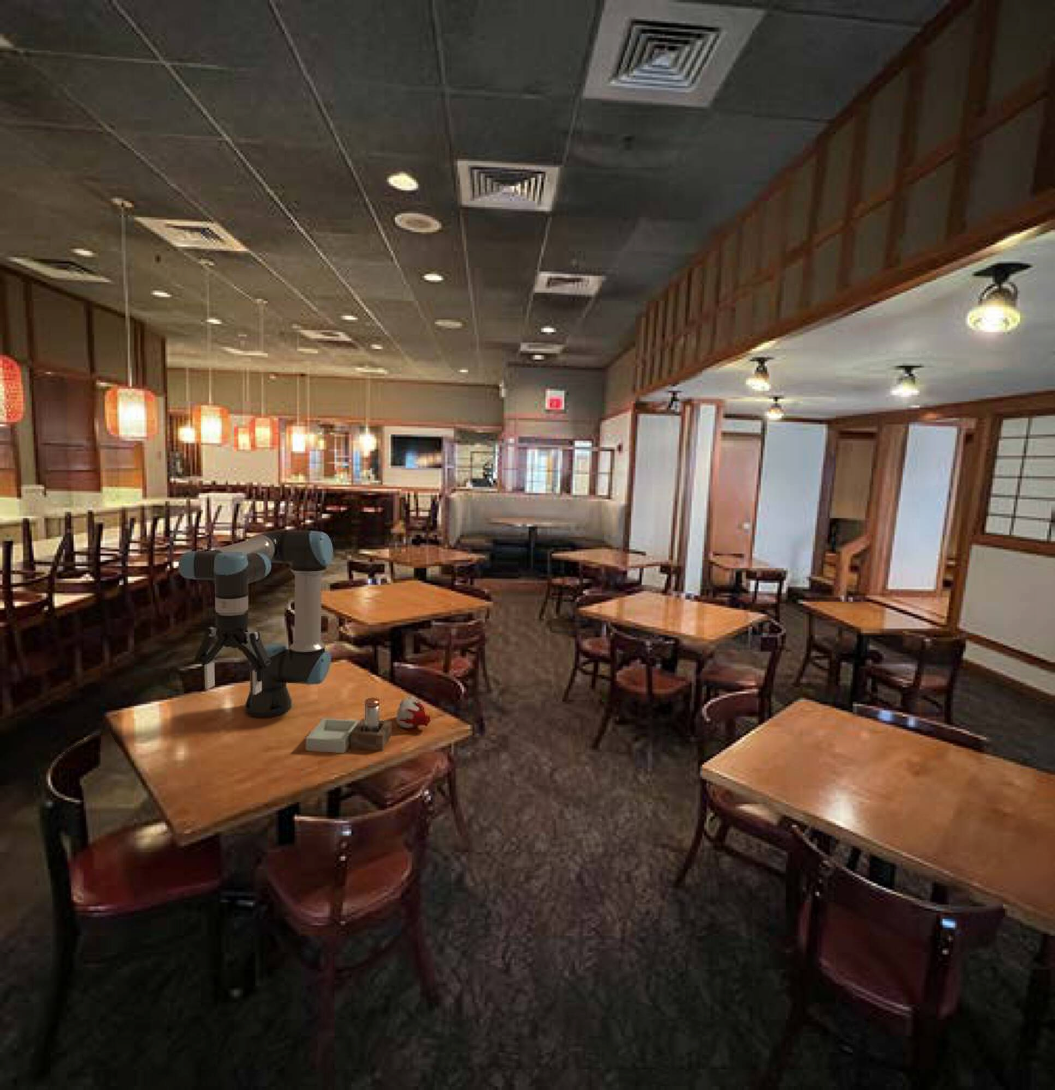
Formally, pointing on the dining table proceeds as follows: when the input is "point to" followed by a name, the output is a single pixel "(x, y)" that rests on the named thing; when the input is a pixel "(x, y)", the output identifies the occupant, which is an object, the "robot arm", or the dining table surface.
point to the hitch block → (371, 736)
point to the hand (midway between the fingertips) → (233, 689)
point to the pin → (372, 715)
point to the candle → (412, 713)
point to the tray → (331, 735)
